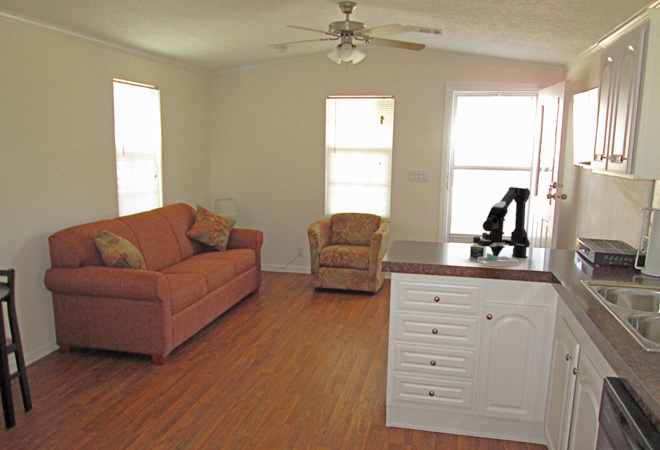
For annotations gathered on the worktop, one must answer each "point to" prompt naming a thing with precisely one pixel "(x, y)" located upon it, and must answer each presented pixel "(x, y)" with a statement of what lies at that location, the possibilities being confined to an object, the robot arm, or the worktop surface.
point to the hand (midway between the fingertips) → (495, 258)
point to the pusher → (489, 257)
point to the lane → (499, 261)
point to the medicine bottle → (477, 249)
